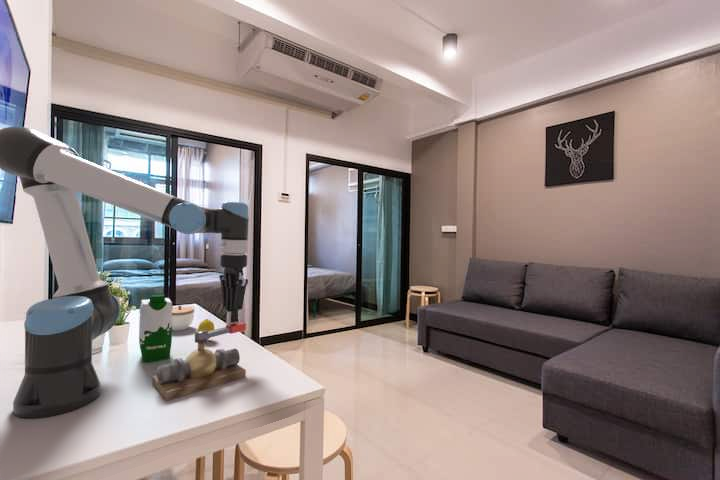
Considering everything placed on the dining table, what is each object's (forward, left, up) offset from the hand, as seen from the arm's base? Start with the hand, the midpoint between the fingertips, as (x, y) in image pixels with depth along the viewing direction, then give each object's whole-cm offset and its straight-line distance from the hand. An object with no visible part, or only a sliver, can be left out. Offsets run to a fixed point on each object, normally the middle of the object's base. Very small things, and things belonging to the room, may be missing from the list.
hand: (231, 331), depth 102 cm
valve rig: (-10, -4, -10) cm, 15 cm away
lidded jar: (+2, +50, -11) cm, 51 cm away
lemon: (+4, +28, -11) cm, 30 cm away
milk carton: (-14, +22, -11) cm, 28 cm away
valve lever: (-5, -3, +1) cm, 6 cm away
